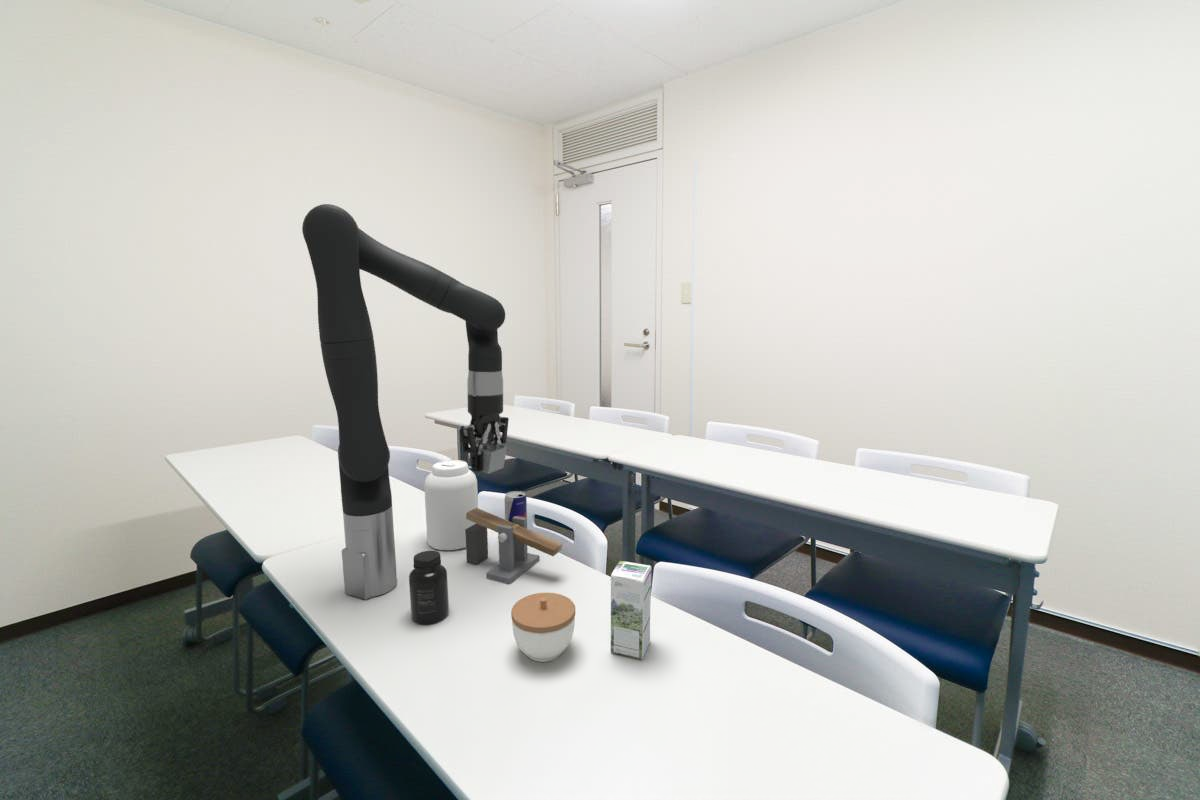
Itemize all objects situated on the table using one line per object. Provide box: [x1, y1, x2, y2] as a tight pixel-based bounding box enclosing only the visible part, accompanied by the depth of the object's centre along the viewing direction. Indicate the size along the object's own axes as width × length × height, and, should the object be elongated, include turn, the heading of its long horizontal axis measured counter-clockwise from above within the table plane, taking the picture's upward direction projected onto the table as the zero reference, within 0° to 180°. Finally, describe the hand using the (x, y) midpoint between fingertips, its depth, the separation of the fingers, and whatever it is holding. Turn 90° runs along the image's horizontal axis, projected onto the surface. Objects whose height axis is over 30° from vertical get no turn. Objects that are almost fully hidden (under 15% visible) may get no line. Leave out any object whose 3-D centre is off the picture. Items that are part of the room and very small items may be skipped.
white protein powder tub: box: [423, 459, 479, 551], centre depth 133 cm, size 12×12×20 cm
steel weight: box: [467, 439, 508, 475], centre depth 118 cm, size 6×6×5 cm
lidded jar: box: [510, 592, 576, 663], centre depth 91 cm, size 11×11×9 cm
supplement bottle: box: [408, 549, 450, 625], centre depth 101 cm, size 7×7×12 cm
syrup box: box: [610, 560, 652, 660], centre depth 91 cm, size 6×6×14 cm
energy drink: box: [504, 490, 528, 523], centre depth 134 cm, size 5×5×12 cm
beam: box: [466, 507, 563, 557], centre depth 119 cm, size 4×23×2 cm, turn 65°
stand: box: [465, 516, 541, 585], centre depth 121 cm, size 12×14×11 cm
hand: (485, 467), depth 119 cm, fingers closed on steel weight, 5 cm apart
